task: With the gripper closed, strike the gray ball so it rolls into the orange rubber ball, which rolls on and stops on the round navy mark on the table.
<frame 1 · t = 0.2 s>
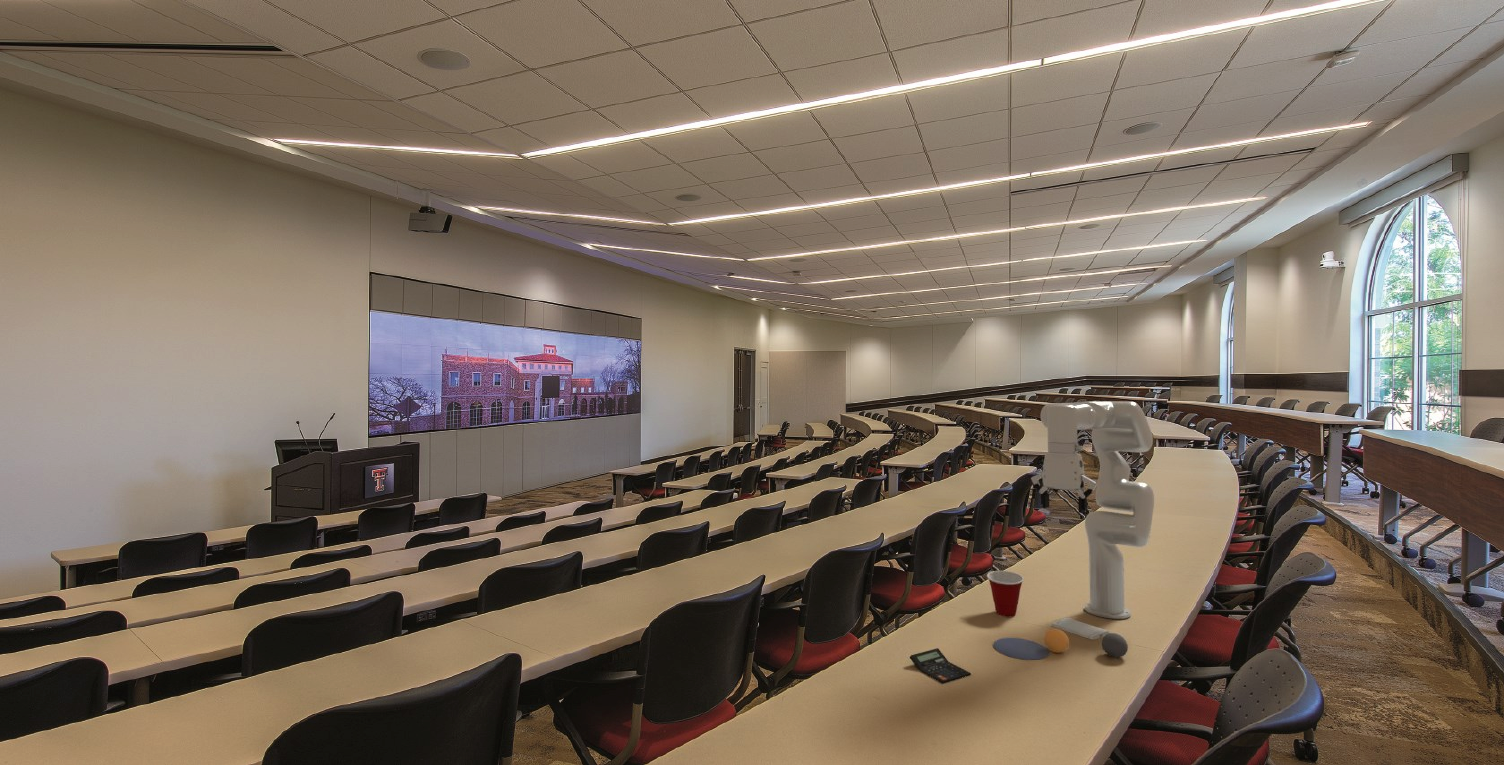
hand: (1063, 509, 174), 37 cm above the table, tool pointing down, fingers open, 9 cm apart
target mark: (1020, 648, 169), on the table
calculator: (939, 672, 157), on the table
hard drive: (1079, 632, 182), on the table
gray ball: (1114, 645, 163), on the table
object ball: (1056, 640, 167), on the table
plastic cup: (1005, 614, 195), on the table
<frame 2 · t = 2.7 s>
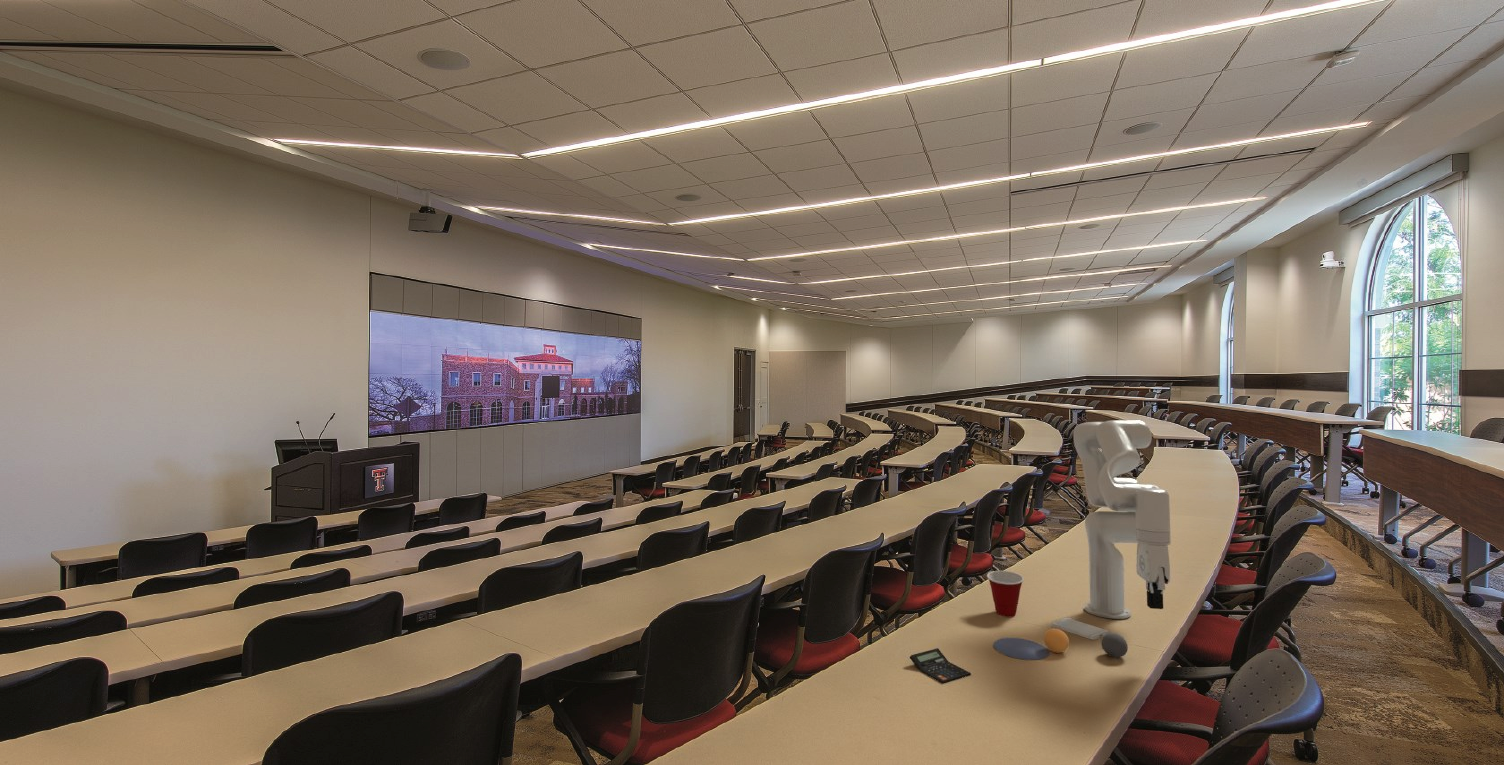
hand: (1155, 607, 161), 14 cm above the table, tool pointing down, fingers closed
nothing on the table moved.
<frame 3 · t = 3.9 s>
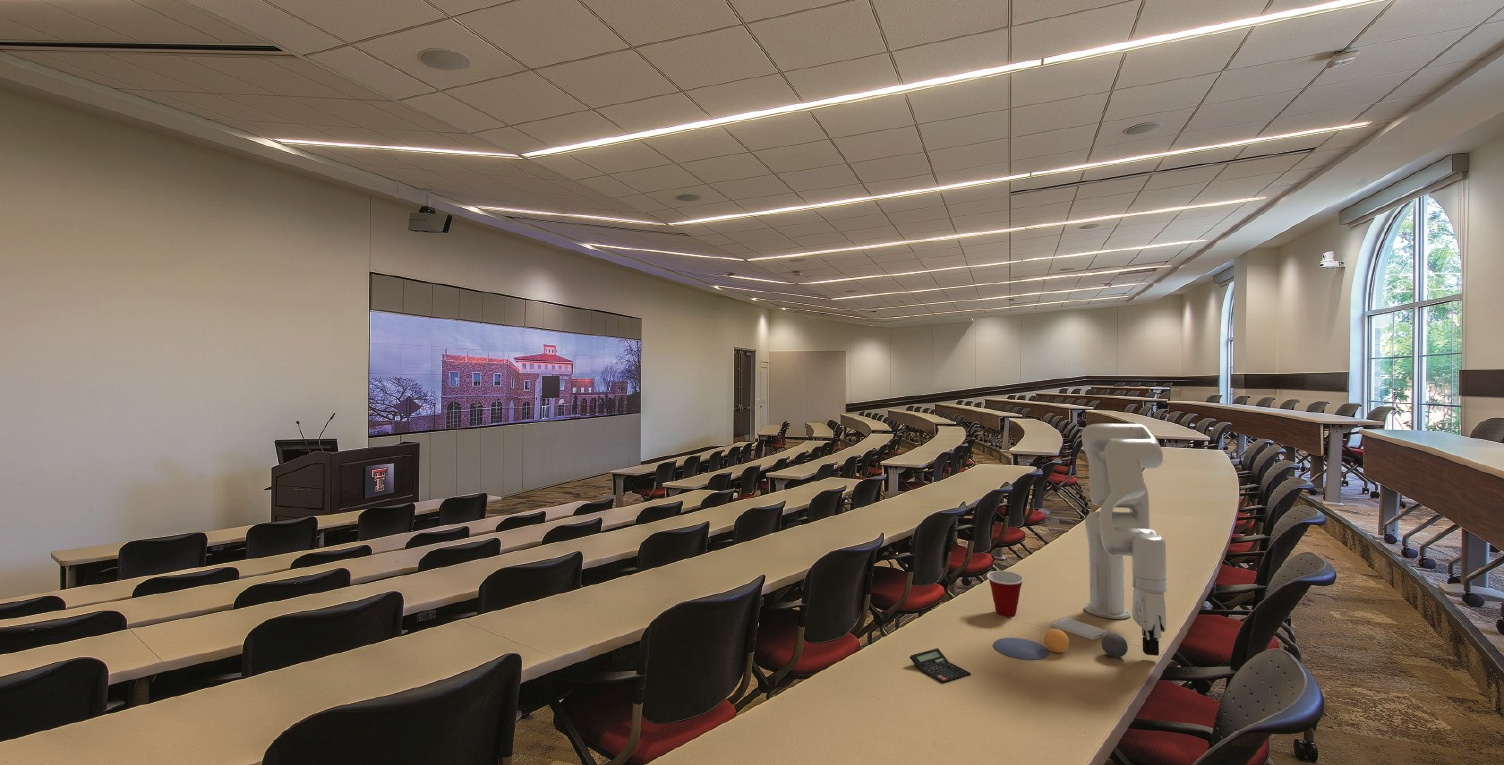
hand: (1150, 653, 161), 2 cm above the table, tool pointing down, fingers closed
nothing on the table moved.
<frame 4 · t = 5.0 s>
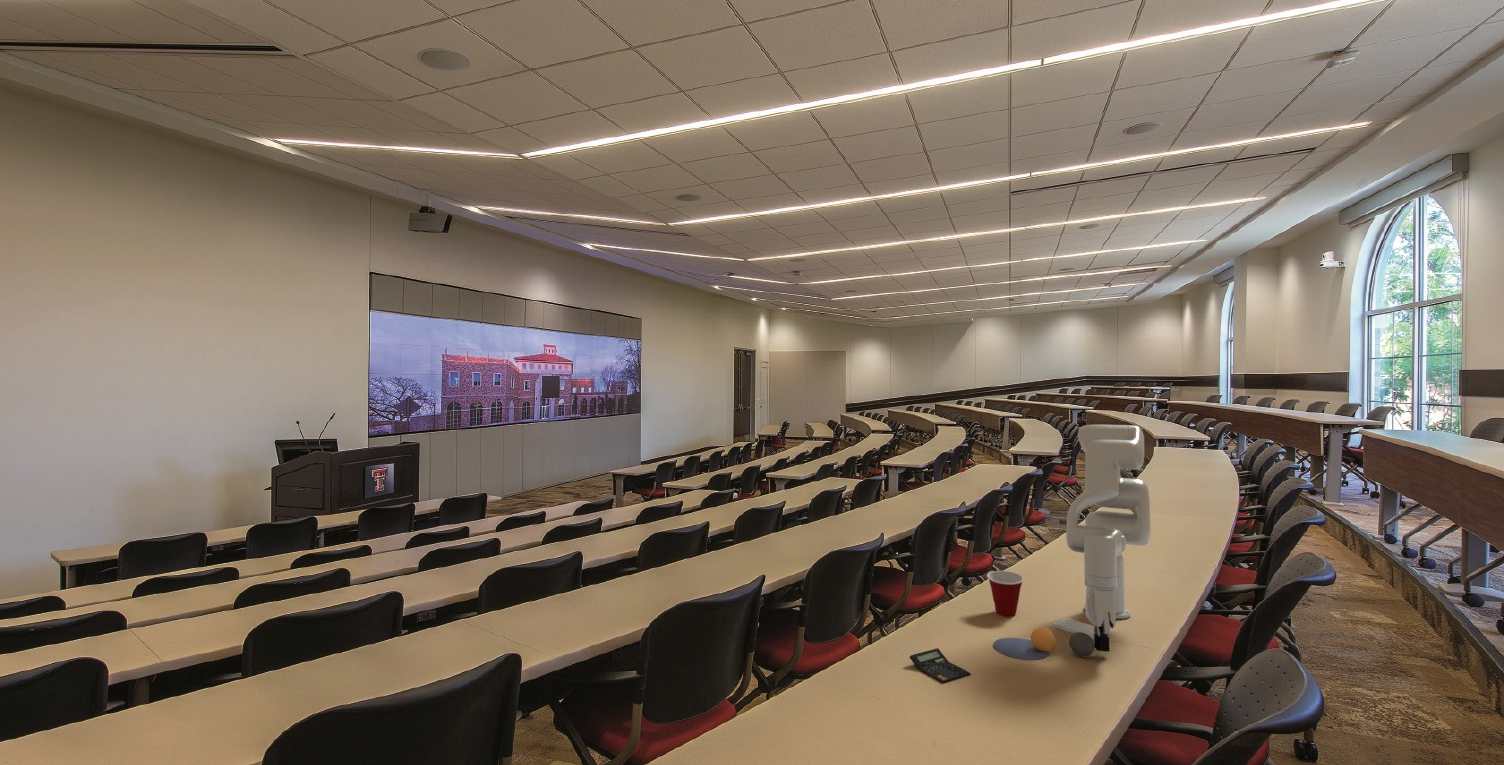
hand: (1101, 650, 164), 2 cm above the table, tool pointing down, fingers closed
gray ball: (1081, 644, 164), on the table
object ball: (1042, 639, 168), on the table
everything else where it was.
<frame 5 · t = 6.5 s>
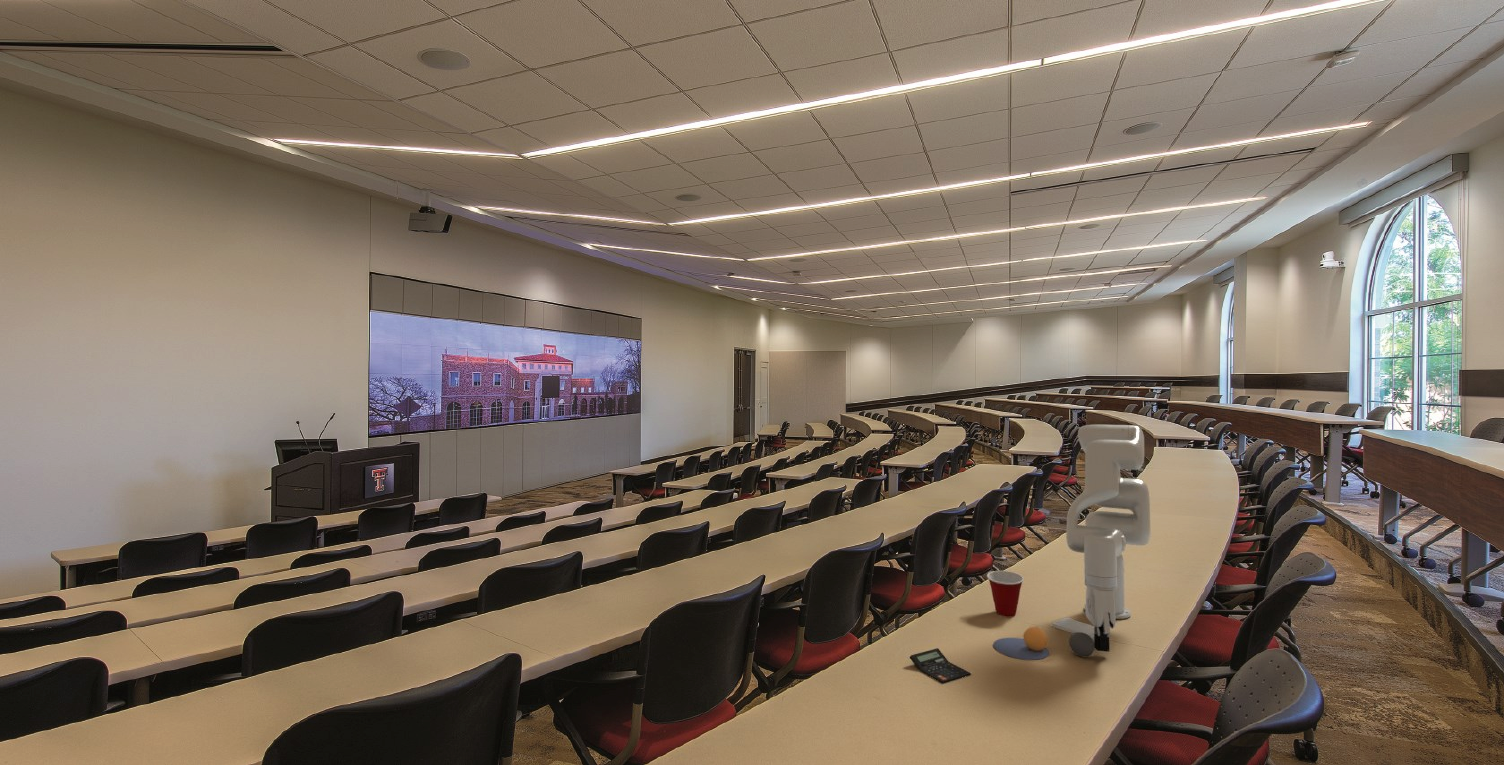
hand: (1101, 650, 164), 2 cm above the table, tool pointing down, fingers closed
object ball: (1035, 639, 168), on the table
everything else where it was.
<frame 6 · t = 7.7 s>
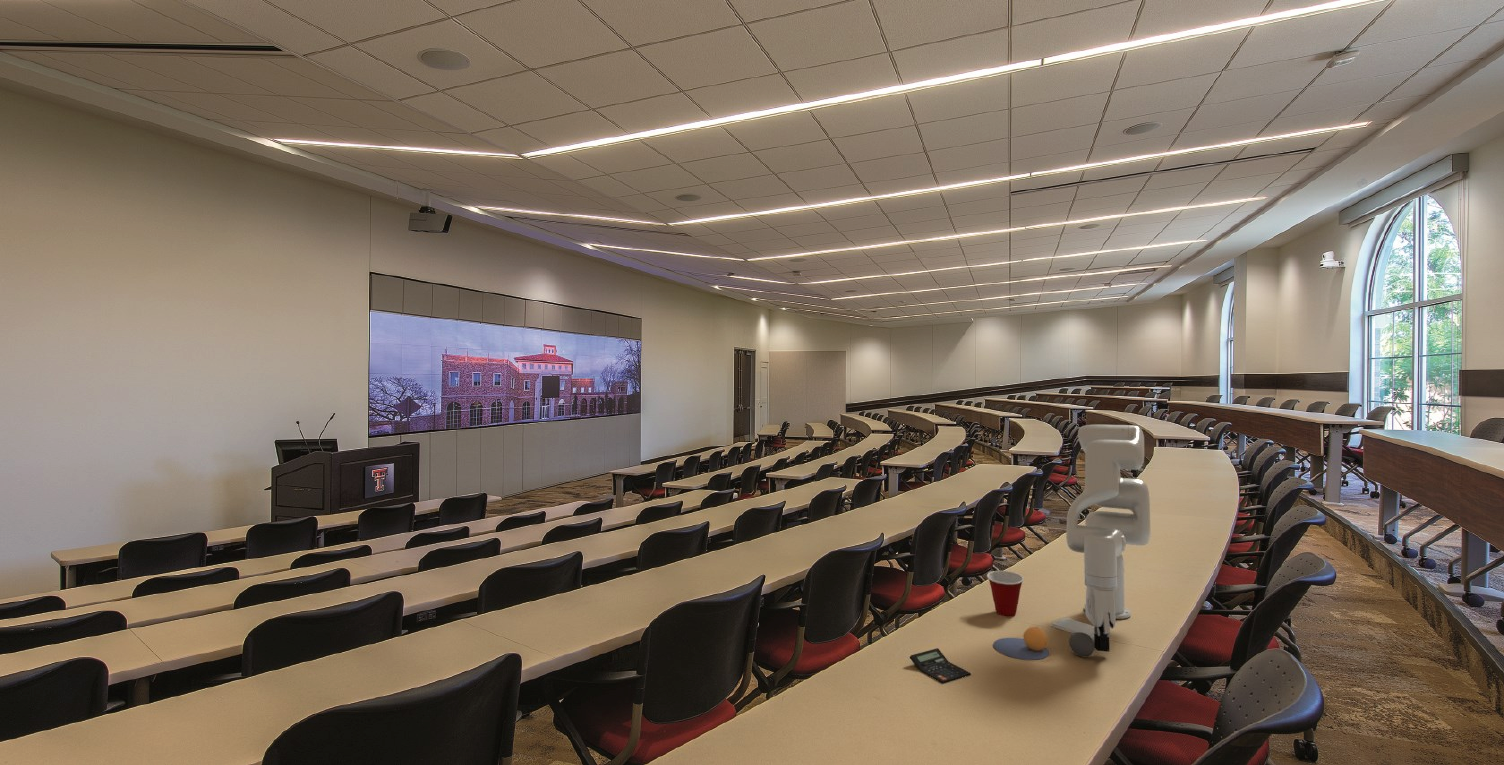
hand: (1101, 650, 164), 2 cm above the table, tool pointing down, fingers closed
nothing on the table moved.
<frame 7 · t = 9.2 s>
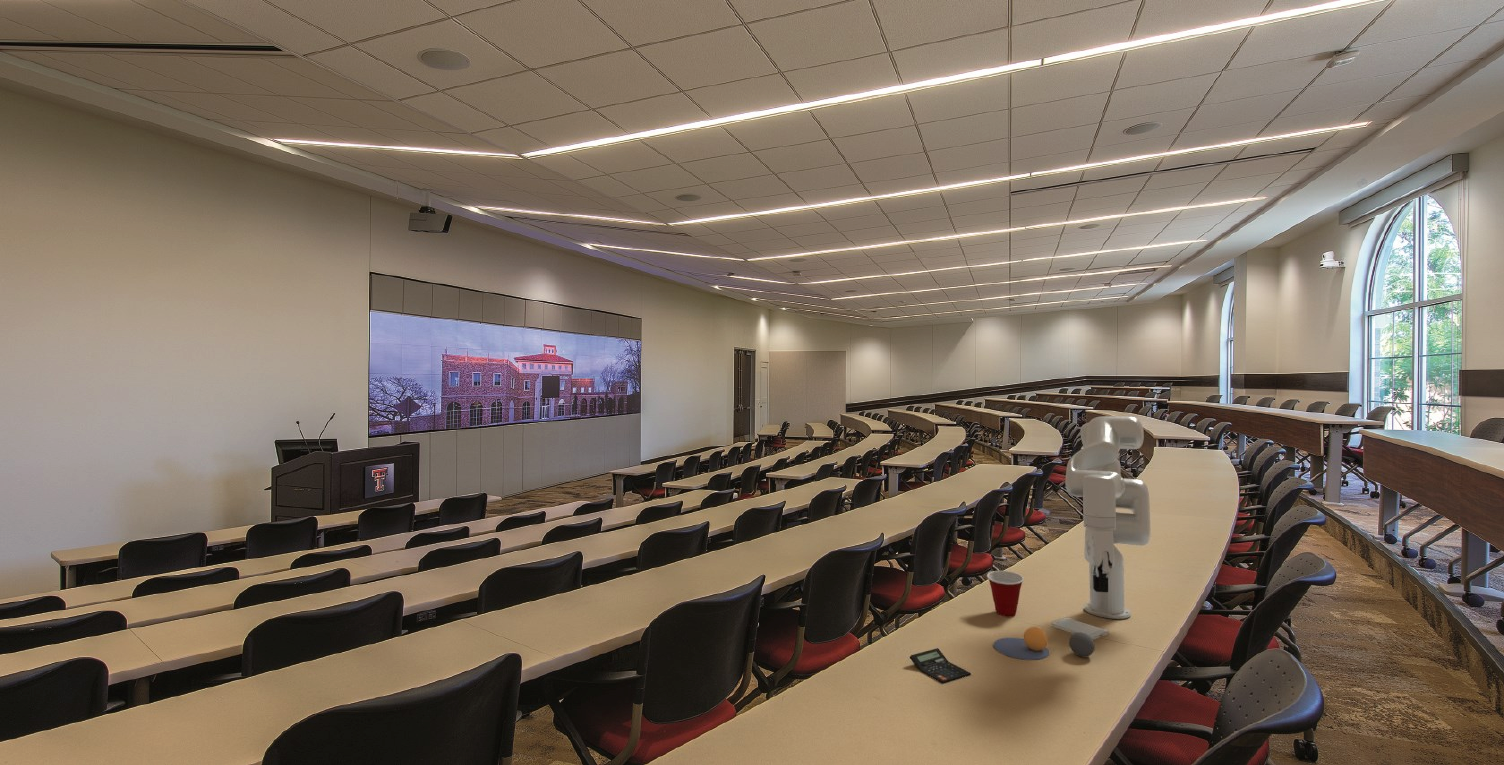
hand: (1100, 591, 164), 17 cm above the table, tool pointing down, fingers closed
nothing on the table moved.
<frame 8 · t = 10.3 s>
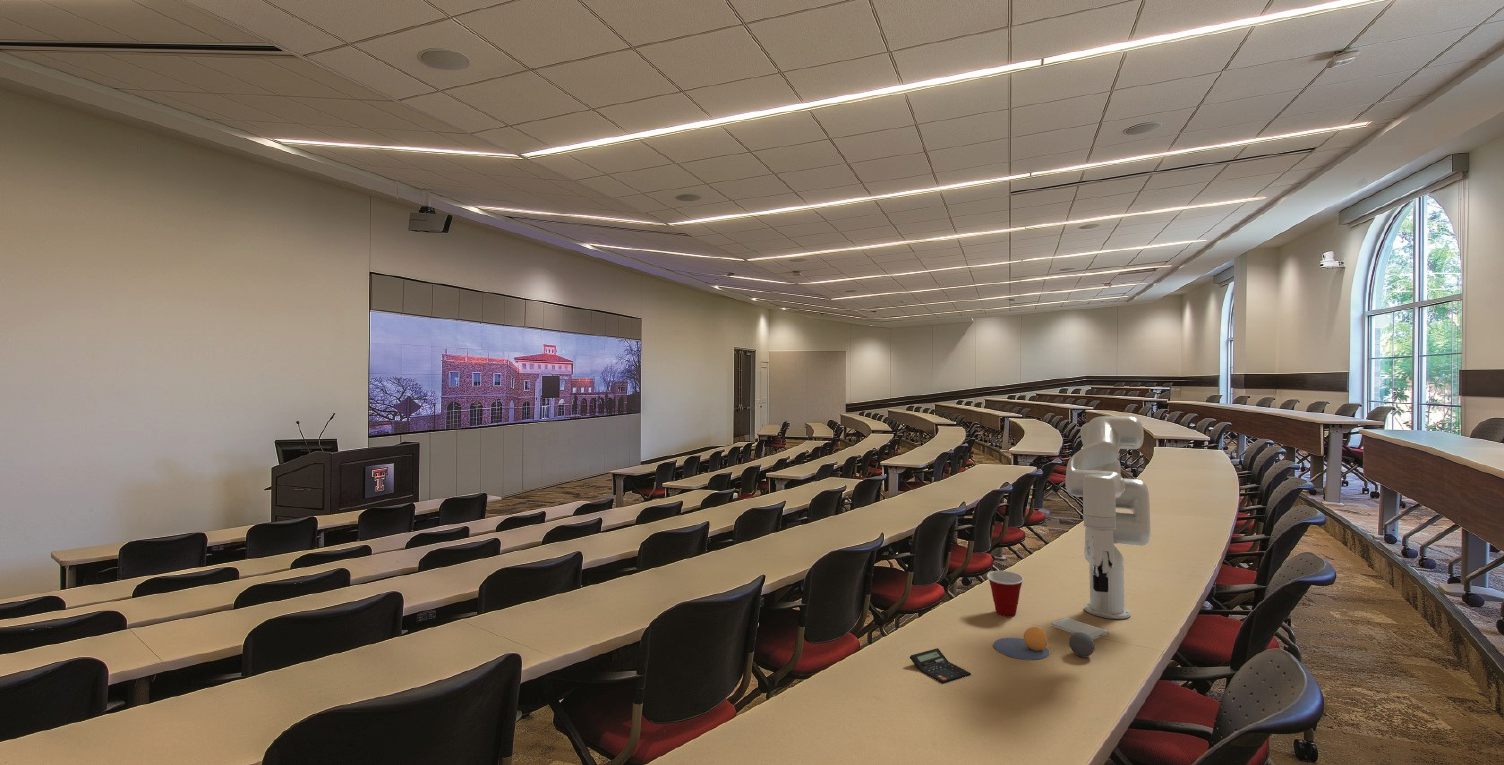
hand: (1100, 590, 164), 17 cm above the table, tool pointing down, fingers closed
nothing on the table moved.
at the end: object ball 3.8 cm from the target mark (horizontally); object ball never touched the robot; gray ball first touched object ball at 4.5 s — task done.
